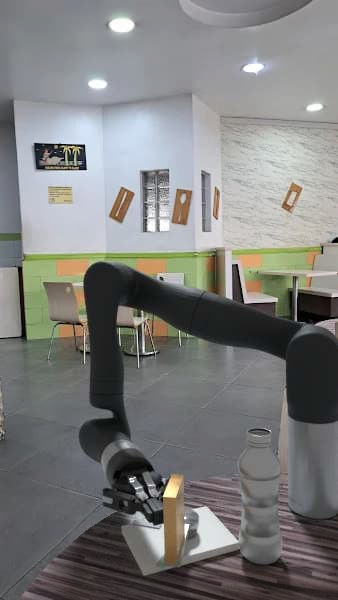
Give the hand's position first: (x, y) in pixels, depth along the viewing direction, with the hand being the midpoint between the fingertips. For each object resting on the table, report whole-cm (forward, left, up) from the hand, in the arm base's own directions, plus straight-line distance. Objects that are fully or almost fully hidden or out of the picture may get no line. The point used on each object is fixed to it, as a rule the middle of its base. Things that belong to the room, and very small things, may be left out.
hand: (159, 518), depth 67 cm
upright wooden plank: (-5, -5, -7) cm, 10 cm away
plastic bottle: (-16, 0, -10) cm, 19 cm away
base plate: (-6, -9, -10) cm, 15 cm away
